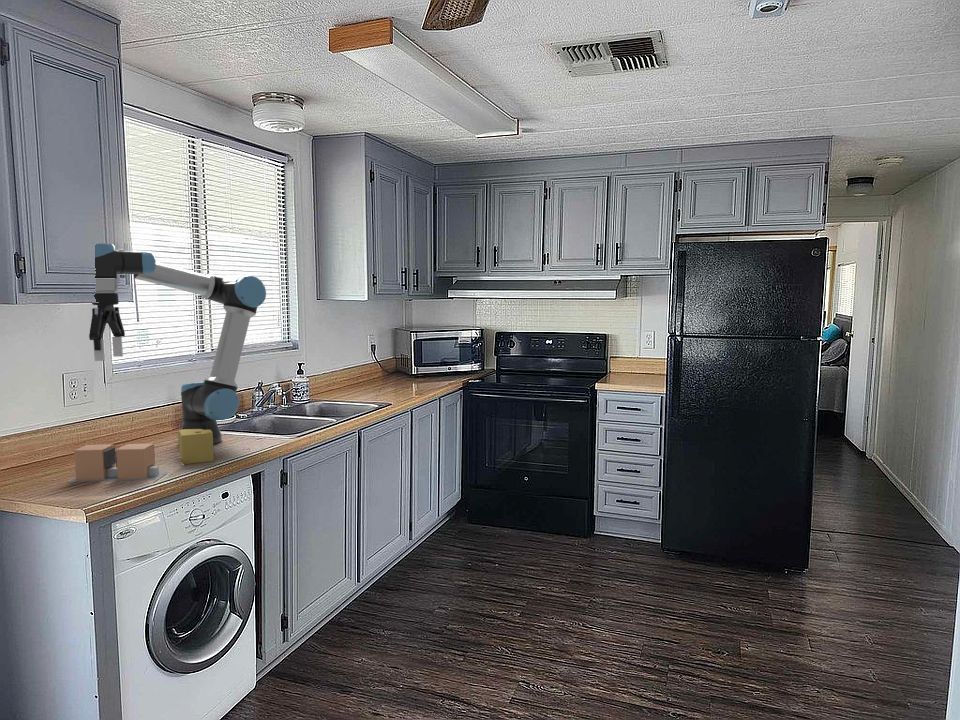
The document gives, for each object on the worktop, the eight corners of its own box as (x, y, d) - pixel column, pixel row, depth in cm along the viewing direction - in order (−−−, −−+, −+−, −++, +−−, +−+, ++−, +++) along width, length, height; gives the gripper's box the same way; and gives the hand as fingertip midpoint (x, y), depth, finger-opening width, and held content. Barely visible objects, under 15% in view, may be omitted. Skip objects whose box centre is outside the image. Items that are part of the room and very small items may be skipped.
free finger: (126, 472, 209) (125, 444, 209) (155, 472, 210) (153, 443, 209) (115, 479, 202) (113, 449, 201) (145, 478, 203) (143, 448, 202)
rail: (84, 475, 210) (83, 464, 210) (167, 473, 212) (166, 462, 211) (66, 484, 200) (66, 473, 200) (154, 482, 202) (153, 471, 201)
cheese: (211, 455, 237) (210, 426, 236) (215, 461, 227) (213, 432, 226) (179, 458, 232) (177, 429, 231) (181, 465, 223) (179, 435, 222)
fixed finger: (88, 473, 209) (86, 444, 208) (117, 472, 209) (115, 444, 208) (76, 480, 201) (74, 450, 200) (106, 479, 202) (104, 449, 201)
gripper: (109, 292, 229) (113, 355, 231) (73, 292, 204) (78, 362, 206) (132, 292, 229) (136, 354, 232) (99, 292, 205) (104, 362, 207)
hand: (109, 358), depth 219 cm, fingers open, 13 cm apart
